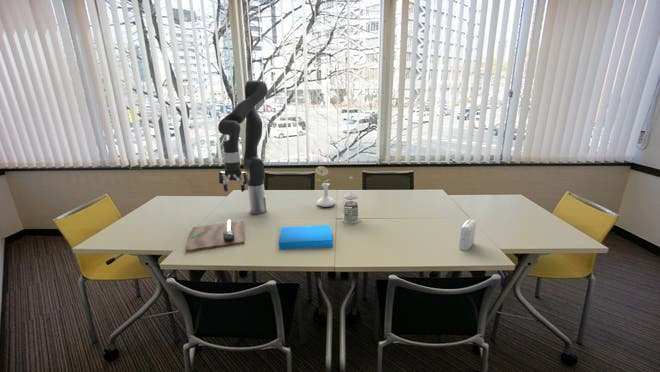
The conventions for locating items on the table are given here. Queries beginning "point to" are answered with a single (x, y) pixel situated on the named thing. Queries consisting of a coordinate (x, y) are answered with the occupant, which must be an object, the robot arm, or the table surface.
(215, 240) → the dial plate
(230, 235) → the tuning lever
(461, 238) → the photo printer
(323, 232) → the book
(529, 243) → the table surface
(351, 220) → the french press
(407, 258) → the table surface
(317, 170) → the flower in vase
